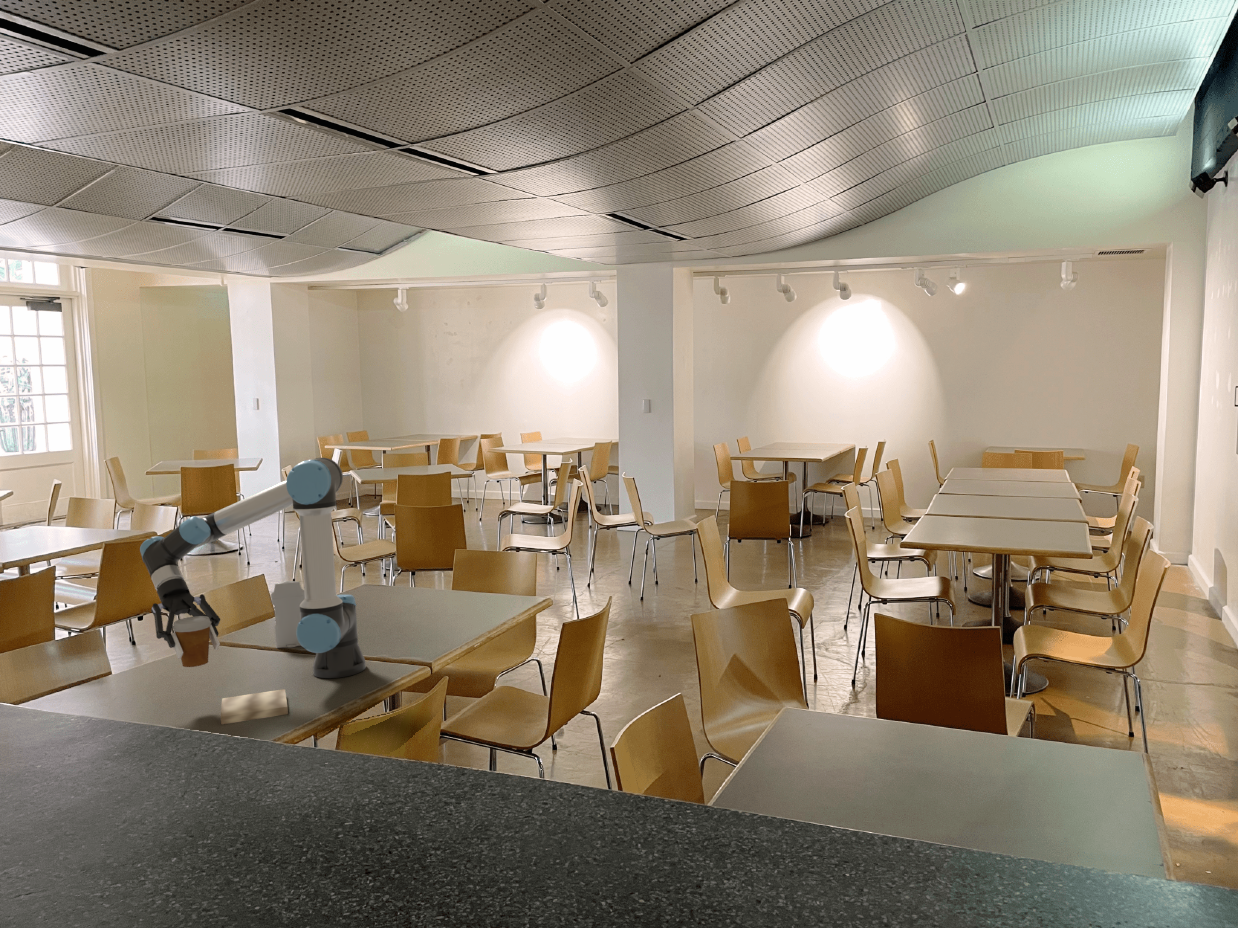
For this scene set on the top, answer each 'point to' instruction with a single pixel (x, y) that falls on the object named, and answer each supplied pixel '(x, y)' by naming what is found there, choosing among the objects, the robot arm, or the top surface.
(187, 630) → the disposable coffee cup
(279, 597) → the tall pale column
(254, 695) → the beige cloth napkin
